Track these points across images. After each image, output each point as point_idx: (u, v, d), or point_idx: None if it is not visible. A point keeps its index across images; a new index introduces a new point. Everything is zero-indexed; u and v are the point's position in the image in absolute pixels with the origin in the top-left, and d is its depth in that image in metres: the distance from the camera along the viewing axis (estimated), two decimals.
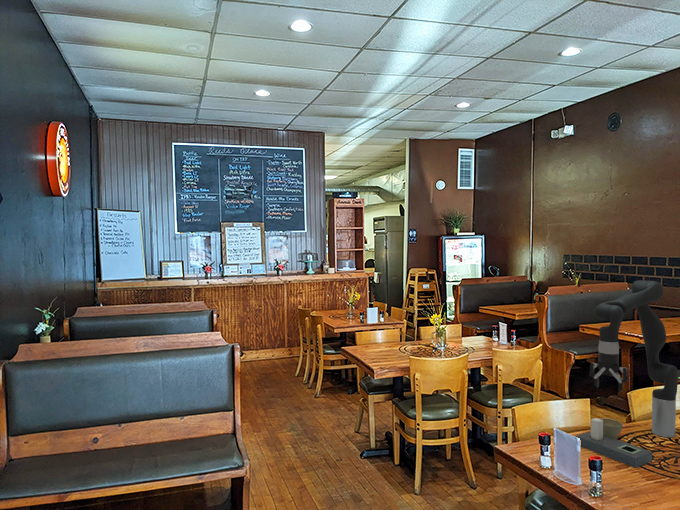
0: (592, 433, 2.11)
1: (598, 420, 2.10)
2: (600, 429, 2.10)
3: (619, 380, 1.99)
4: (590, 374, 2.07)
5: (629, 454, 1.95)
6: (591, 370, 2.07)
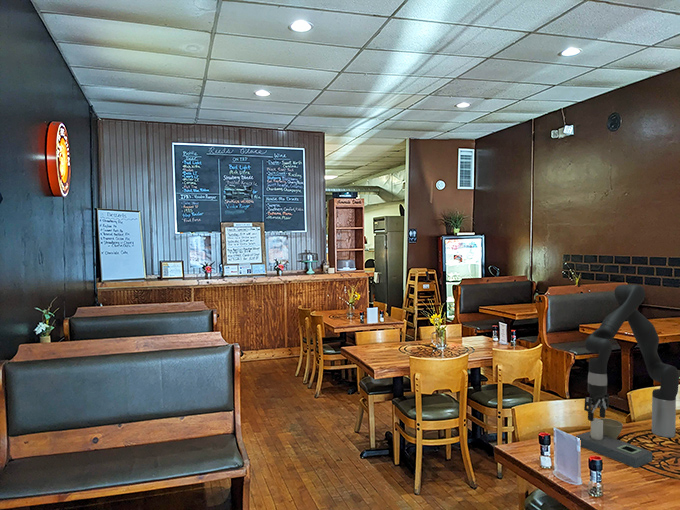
0: (592, 433, 2.11)
1: (598, 420, 2.10)
2: (600, 429, 2.10)
3: (605, 407, 2.12)
4: (590, 410, 2.07)
5: (629, 454, 1.95)
6: (590, 405, 2.07)
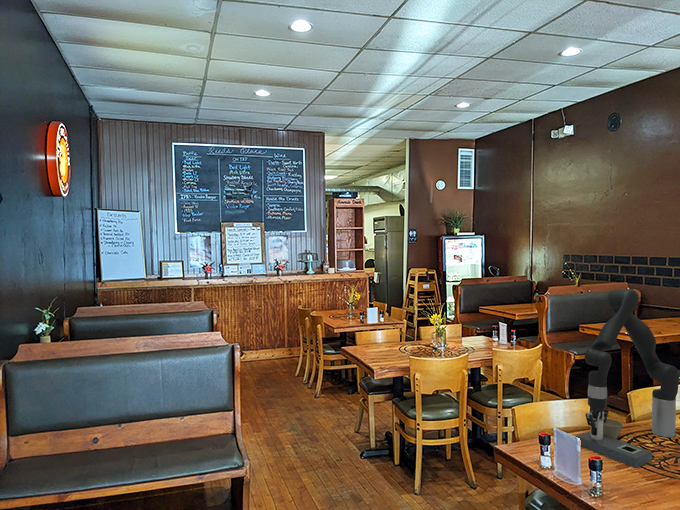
0: None
1: None
2: (600, 429, 2.10)
3: None
4: (593, 424, 2.08)
5: (629, 454, 1.95)
6: (592, 421, 2.08)
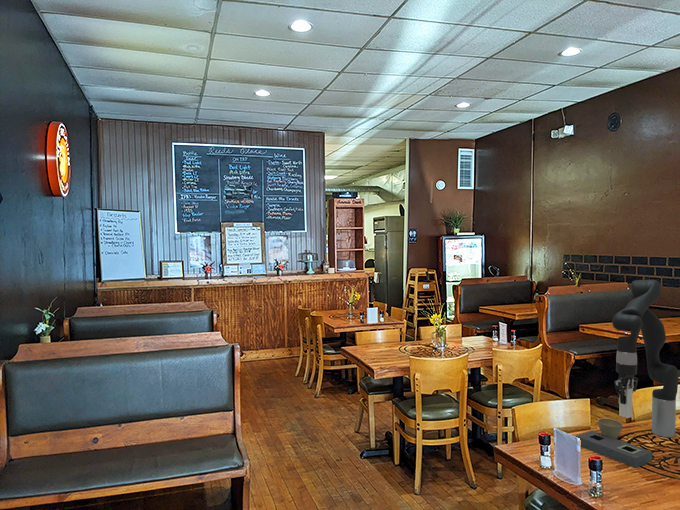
0: None
1: None
2: (629, 397, 1.98)
3: None
4: (622, 392, 1.97)
5: (629, 454, 1.95)
6: (622, 388, 1.96)
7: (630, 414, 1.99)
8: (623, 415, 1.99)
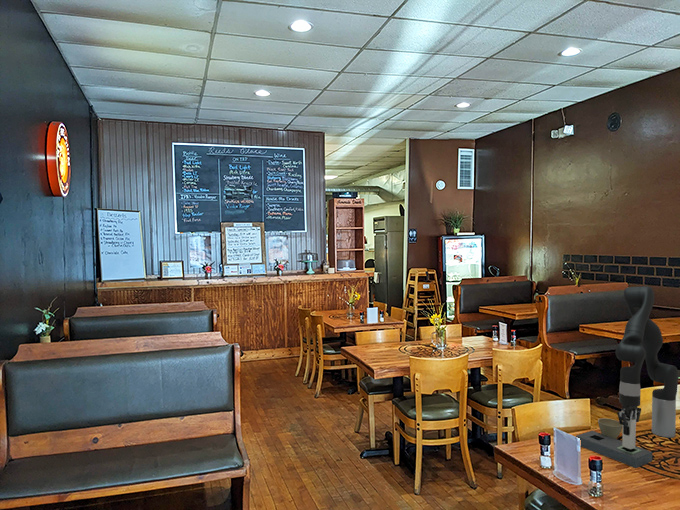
0: None
1: None
2: (633, 428, 1.97)
3: None
4: (626, 423, 1.96)
5: (629, 454, 1.95)
6: (625, 420, 1.95)
7: (633, 445, 1.98)
8: (626, 446, 1.98)
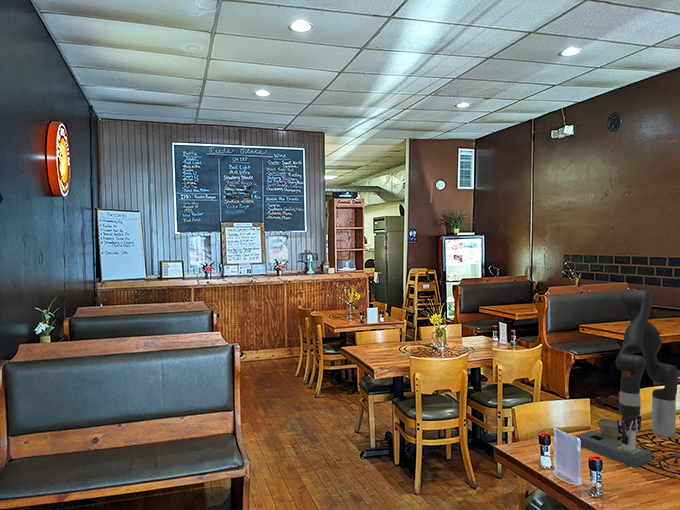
0: (624, 445, 1.99)
1: (631, 431, 1.98)
2: (633, 440, 1.98)
3: (636, 430, 2.00)
4: (624, 433, 1.95)
5: (629, 454, 1.95)
6: (624, 429, 1.95)
7: None
8: None
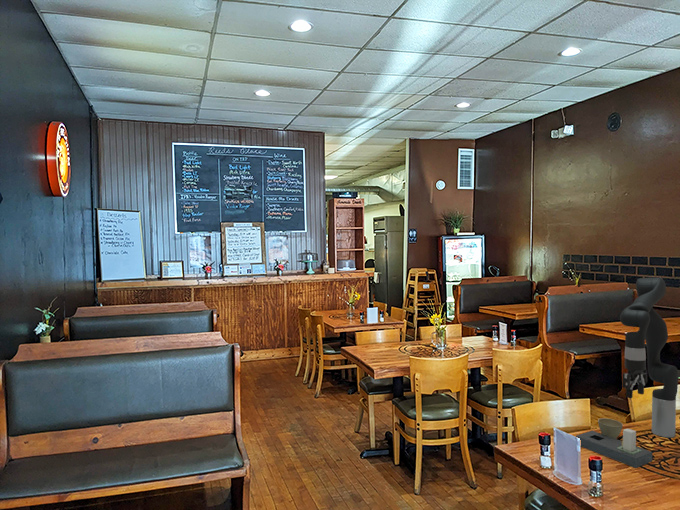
0: (624, 445, 1.99)
1: (631, 431, 1.98)
2: (633, 440, 1.98)
3: (643, 383, 2.01)
4: (629, 386, 1.96)
5: (629, 454, 1.95)
6: (629, 382, 1.96)
7: None
8: None
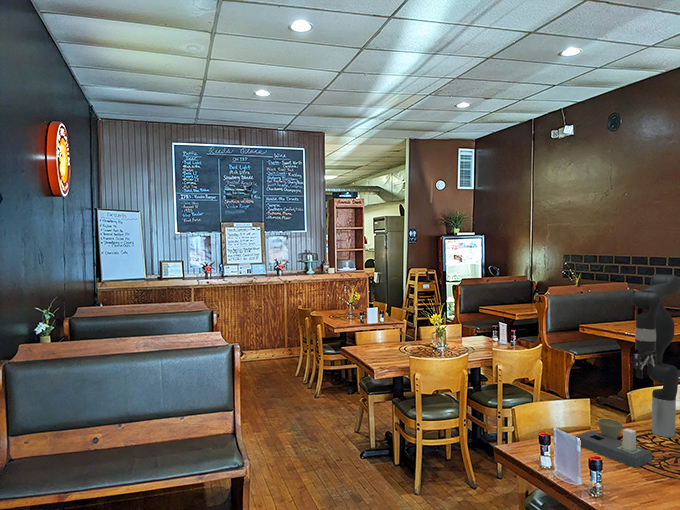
0: (624, 445, 1.99)
1: (631, 431, 1.98)
2: (633, 440, 1.98)
3: (653, 364, 2.05)
4: (639, 366, 1.99)
5: (629, 454, 1.95)
6: (639, 362, 2.00)
7: None
8: None
